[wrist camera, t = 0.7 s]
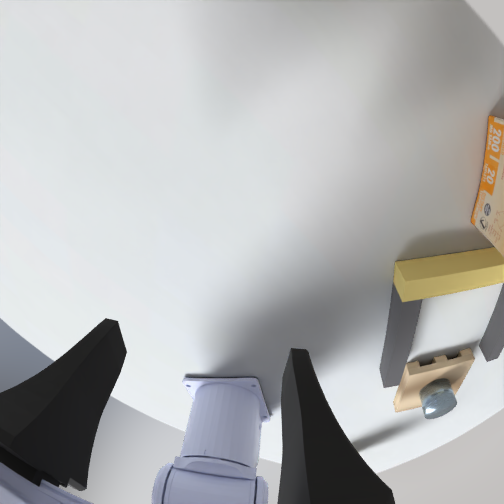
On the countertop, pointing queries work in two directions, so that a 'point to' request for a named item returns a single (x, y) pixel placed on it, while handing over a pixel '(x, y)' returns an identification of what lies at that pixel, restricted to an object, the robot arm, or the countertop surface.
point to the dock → (431, 285)
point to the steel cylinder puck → (437, 398)
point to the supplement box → (492, 187)
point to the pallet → (431, 378)
